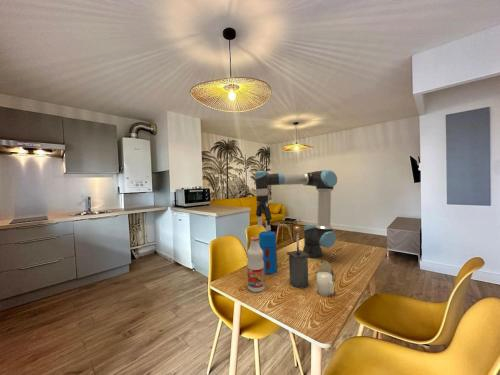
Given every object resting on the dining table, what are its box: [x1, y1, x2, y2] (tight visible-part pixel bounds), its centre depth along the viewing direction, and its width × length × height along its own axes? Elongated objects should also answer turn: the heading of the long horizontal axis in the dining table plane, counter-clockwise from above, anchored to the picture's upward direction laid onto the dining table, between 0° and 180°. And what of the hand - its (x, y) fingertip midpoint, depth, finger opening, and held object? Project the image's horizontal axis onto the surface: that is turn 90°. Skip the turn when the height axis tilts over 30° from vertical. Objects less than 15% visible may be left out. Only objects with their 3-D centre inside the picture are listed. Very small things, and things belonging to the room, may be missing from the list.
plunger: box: [293, 225, 302, 255], centre depth 117 cm, size 8×8×18 cm
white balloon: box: [316, 272, 335, 297], centre depth 106 cm, size 8×10×9 cm
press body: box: [286, 249, 310, 289], centre depth 118 cm, size 10×13×17 cm
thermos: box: [258, 230, 278, 276], centre depth 135 cm, size 11×11×25 cm
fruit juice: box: [246, 236, 266, 293], centre depth 114 cm, size 9×9×28 cm
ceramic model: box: [314, 260, 336, 283], centre depth 123 cm, size 14×11×10 cm
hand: (264, 228), depth 133 cm, fingers open, 13 cm apart
